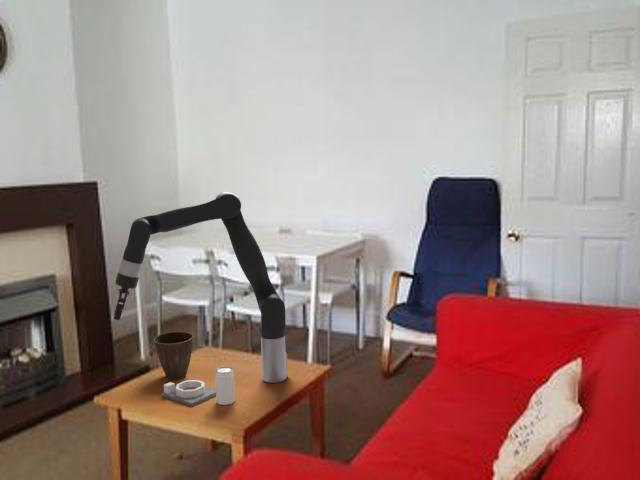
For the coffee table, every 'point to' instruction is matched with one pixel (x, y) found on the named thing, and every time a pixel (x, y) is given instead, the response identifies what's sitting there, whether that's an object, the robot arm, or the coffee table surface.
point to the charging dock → (194, 399)
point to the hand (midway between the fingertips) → (117, 316)
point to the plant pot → (174, 353)
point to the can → (224, 386)
